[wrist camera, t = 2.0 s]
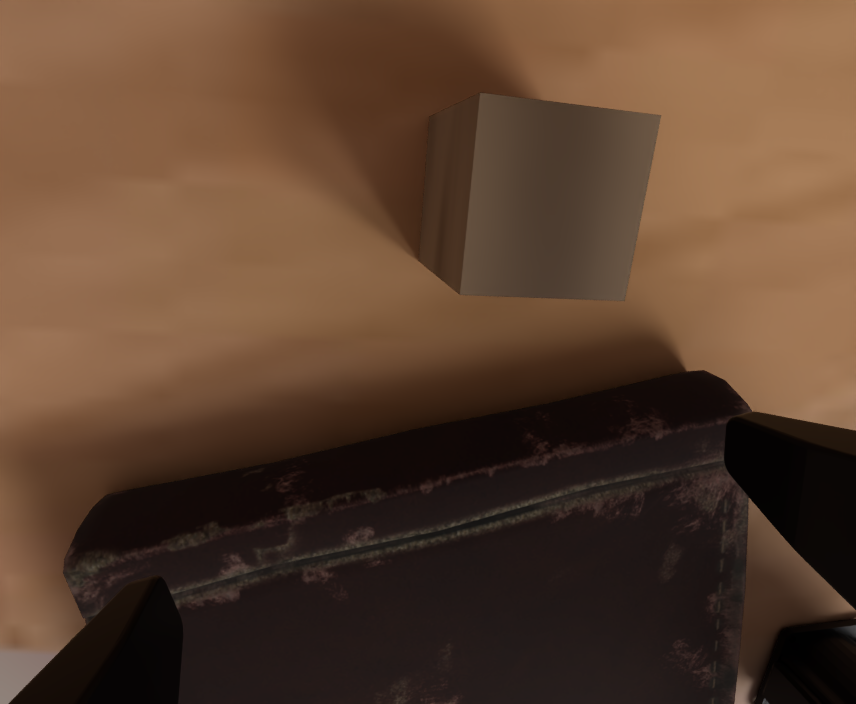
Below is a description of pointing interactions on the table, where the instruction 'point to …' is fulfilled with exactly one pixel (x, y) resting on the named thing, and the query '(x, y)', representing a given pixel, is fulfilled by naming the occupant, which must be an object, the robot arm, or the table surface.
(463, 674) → the diary
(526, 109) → the metal block
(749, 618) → the table surface
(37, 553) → the table surface
